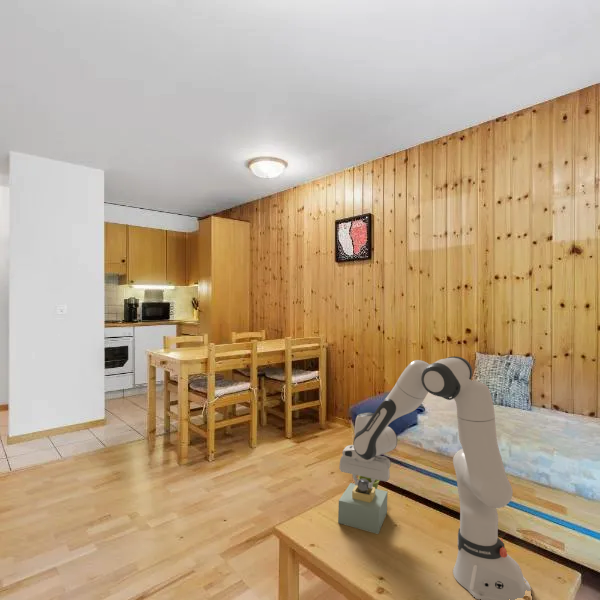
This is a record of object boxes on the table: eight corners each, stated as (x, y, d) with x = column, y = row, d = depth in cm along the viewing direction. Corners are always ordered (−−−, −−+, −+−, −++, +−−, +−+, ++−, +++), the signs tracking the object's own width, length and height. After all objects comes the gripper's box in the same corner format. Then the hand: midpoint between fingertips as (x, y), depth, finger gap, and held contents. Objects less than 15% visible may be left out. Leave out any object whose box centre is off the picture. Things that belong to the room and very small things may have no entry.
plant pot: (374, 505, 168) (375, 485, 167) (354, 498, 173) (355, 479, 173) (382, 495, 175) (383, 476, 175) (363, 489, 181) (363, 471, 180)
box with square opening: (386, 512, 162) (387, 485, 162) (378, 534, 147) (379, 504, 147) (349, 503, 168) (350, 477, 168) (338, 522, 154) (338, 494, 154)
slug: (369, 494, 158) (369, 480, 158) (366, 499, 155) (367, 484, 155) (359, 492, 160) (360, 477, 160) (357, 496, 156) (357, 481, 156)
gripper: (392, 454, 156) (390, 488, 156) (343, 445, 164) (342, 477, 164) (389, 460, 150) (387, 496, 150) (338, 450, 158) (337, 484, 159)
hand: (363, 486), depth 157 cm, fingers closed on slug, 4 cm apart
